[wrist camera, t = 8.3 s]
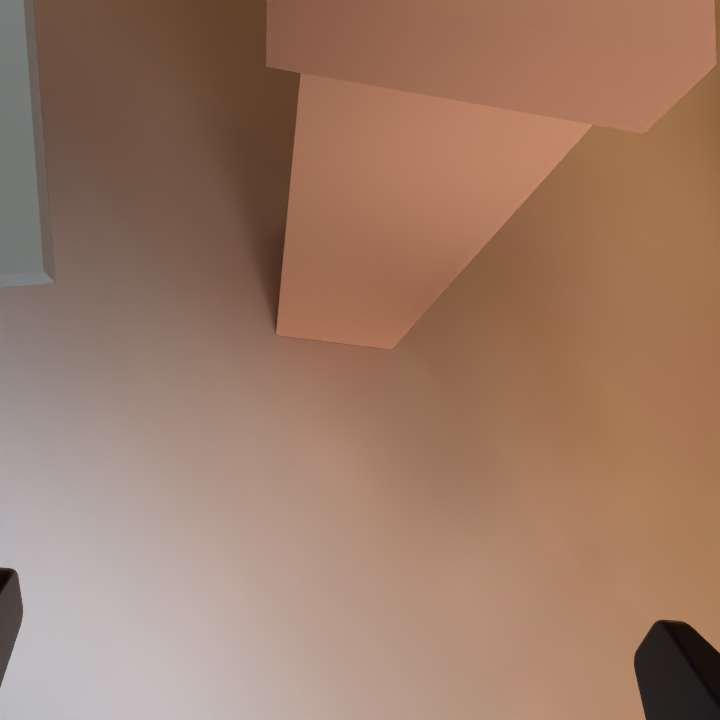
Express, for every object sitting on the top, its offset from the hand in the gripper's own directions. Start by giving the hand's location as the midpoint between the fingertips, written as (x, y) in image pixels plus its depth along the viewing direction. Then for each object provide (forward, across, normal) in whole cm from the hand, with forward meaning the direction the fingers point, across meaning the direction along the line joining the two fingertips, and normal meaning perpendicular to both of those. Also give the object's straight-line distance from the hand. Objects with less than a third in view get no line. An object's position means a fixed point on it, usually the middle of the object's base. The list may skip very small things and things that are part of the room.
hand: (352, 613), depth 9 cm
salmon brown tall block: (+12, 0, +1) cm, 12 cm away
